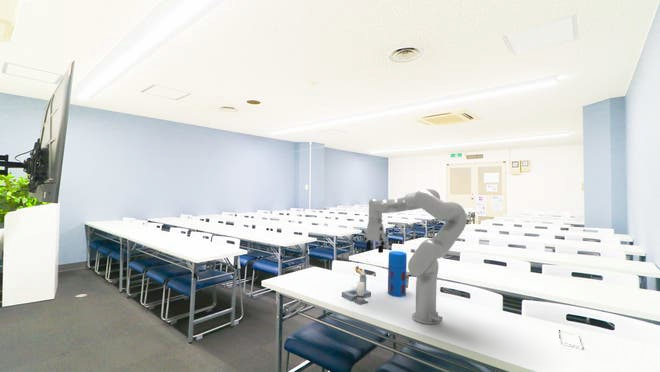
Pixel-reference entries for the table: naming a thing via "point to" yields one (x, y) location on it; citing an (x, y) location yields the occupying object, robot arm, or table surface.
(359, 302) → the pad
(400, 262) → the thermos
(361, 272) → the clip
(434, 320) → the robot arm
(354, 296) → the outlet block
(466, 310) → the table surface
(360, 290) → the plug
